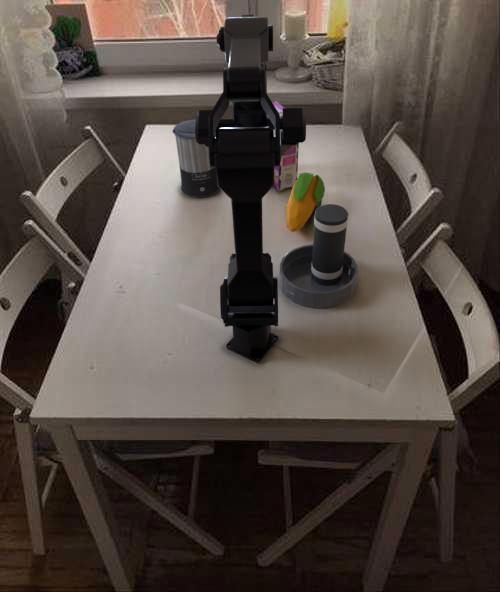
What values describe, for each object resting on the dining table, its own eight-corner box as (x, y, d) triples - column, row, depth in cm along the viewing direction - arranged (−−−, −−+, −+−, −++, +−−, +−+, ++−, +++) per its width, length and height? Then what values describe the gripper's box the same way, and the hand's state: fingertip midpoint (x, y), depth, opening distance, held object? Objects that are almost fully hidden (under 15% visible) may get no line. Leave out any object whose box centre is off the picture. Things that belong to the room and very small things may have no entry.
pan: (334, 320, 97) (336, 303, 95) (265, 292, 103) (265, 275, 101) (368, 276, 106) (370, 259, 103) (302, 252, 112) (303, 236, 109)
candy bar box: (298, 187, 131) (301, 119, 120) (279, 192, 129) (280, 124, 118) (276, 165, 138) (277, 100, 127) (258, 170, 137) (256, 104, 126)
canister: (333, 289, 103) (339, 226, 94) (305, 279, 105) (308, 216, 96) (346, 272, 106) (354, 209, 97) (319, 263, 109) (324, 200, 99)
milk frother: (189, 202, 127) (182, 141, 117) (163, 172, 137) (155, 113, 127) (246, 186, 132) (243, 125, 122) (216, 157, 142) (212, 100, 132)
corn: (328, 163, 123) (312, 213, 108) (328, 194, 128) (313, 246, 113) (294, 162, 125) (274, 211, 110) (296, 192, 129) (277, 243, 115)
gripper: (305, 56, 94) (301, 126, 108) (194, 59, 95) (204, 128, 109) (308, 104, 89) (303, 171, 102) (189, 107, 90) (201, 173, 103)
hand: (252, 159), depth 104 cm, fingers open, 9 cm apart
